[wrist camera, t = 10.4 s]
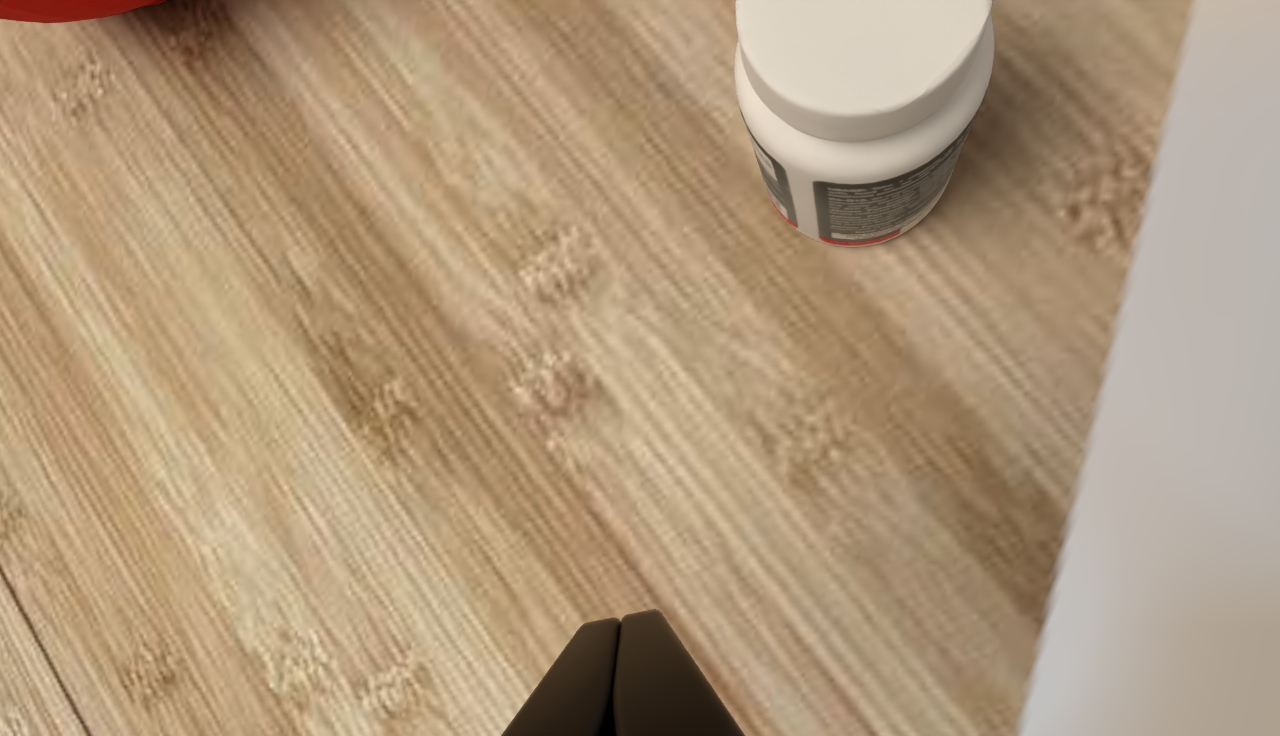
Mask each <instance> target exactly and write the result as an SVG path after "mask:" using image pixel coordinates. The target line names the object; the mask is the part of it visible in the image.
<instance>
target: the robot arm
mask: <svg viewBox="0 0 1280 736" xmlns="http://www.w3.org/2000/svg"><path fill="white" fill-rule="evenodd" d="M501 736H745V735H744V733H743V732H742V730H741V729H740V728H739V726H738V725H737V723H736V722H735V720H734V719H733V717H732V716H731V714H730V713H729V711H728V710H727V708H726V707H725V705H724V704H723V703H722V701H721V700H720V698H719V697H718V695H717V694H716V692H715V691H714V689H713V688H712V686H711V685H710V683H709V682H708V681H707V679H706V678H705V676H704V675H703V673H702V672H701V670H700V669H699V667H698V666H697V664H696V663H695V661H694V660H693V658H692V657H691V656H690V654H689V653H688V651H687V650H686V648H685V647H684V645H683V644H682V642H681V641H680V639H679V638H678V636H677V635H676V634H675V632H674V631H673V629H672V628H671V626H670V625H669V623H668V622H667V620H666V619H665V617H664V616H663V614H662V613H661V612H660V611H659V610H656V609H653V610H648V611H643V612H638V613H633V614H628V615H625V616H624V617H623V618H622V621H620V620H619V619H618V618H608V619H603V620H598V621H593V622H588V623H585V624H583V625H582V626H581V627H580V628H579V629H578V631H577V632H576V633H575V635H574V636H573V637H572V639H571V640H570V642H569V643H568V644H567V646H566V647H565V648H564V650H563V651H562V653H561V654H560V655H559V657H558V658H557V660H556V661H555V662H554V664H553V665H552V666H551V668H550V669H549V671H548V672H547V673H546V675H545V676H544V677H543V679H542V680H541V682H540V683H539V684H538V686H537V687H536V688H535V690H534V691H533V693H532V694H531V695H530V697H529V698H528V699H527V701H526V702H525V704H524V705H523V706H522V708H521V709H520V710H519V712H518V713H517V715H516V716H515V717H514V719H513V720H512V721H511V723H510V724H509V726H508V727H507V728H506V730H505V731H504V732H503V734H502V735H501Z"/></svg>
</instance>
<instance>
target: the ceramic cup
mask: <svg viewBox="0 0 1280 736" xmlns="http://www.w3.org/2000/svg"><path fill="white" fill-rule="evenodd" d="M165 1H167V0H0V19H7V20H16V21H25V22H40V23H61V22H71V21H79V20H87V19H94V18H102V17H107V16H112V15H116V14H120V13H123V12H127V11H130V10H132V9H135V8H138V7H143V6H151V5H156V4H159V3H162V2H165Z"/></svg>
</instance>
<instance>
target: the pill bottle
mask: <svg viewBox="0 0 1280 736" xmlns="http://www.w3.org/2000/svg"><path fill="white" fill-rule="evenodd" d="M992 3H993V0H736V24H737V31H738V37H739V39H738V43H737V47H736V54H735V64H734V68H735V86H736V93H737V99H738V103H739V107H740V111H741V113H742V116H743V119H744V122H745V125H746V128H747V131H748V133H749V136H750V140H751V143H752V145H753V148H754V151H755V154H756V157H757V161H758V164H759V167H760V170H761V173H762V176H763V179H764V182H765V185H766V188H767V191H768V194H769V196H770V198H771V200H772V202H773V204H774V206H775V207H776V209H777V210H778V211H779V213H780V214H781V215H782V216H783V218H784V219H785V220H786V221H787V222H788V223H789V224H791V225H792V226H793V227H794V228H795V229H797V230H798V231H800V232H801V233H803V234H804V235H806V236H808V237H810V238H812V239H814V240H816V241H819V242H822V243H825V244H829V245H833V246H840V247H863V246H870V245H876V244H879V243H883V242H886V241H888V240H890V239H893V238H895V237H897V236H899V235H901V234H903V233H905V232H906V231H908V230H909V229H910V228H912V227H913V226H915V225H916V224H917V223H918V222H919V221H921V220H922V219H923V218H924V217H925V216H926V215H927V214H928V213H929V212H930V210H931V209H932V208H933V207H934V206H935V204H936V203H937V202H938V200H939V199H940V197H941V195H942V194H943V192H944V190H945V188H946V186H947V184H948V182H949V179H950V177H951V175H952V173H953V170H954V167H955V165H956V162H957V160H958V158H959V155H960V153H961V150H962V148H963V145H964V143H965V141H966V138H967V136H968V134H969V133H970V130H971V127H972V124H973V122H974V120H975V117H976V115H977V113H978V110H979V108H980V106H981V104H982V101H983V99H984V97H985V94H986V92H987V88H988V84H989V80H990V77H991V72H992V67H993V60H994V30H993V23H992V17H991V14H990V12H991V8H992Z"/></svg>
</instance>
